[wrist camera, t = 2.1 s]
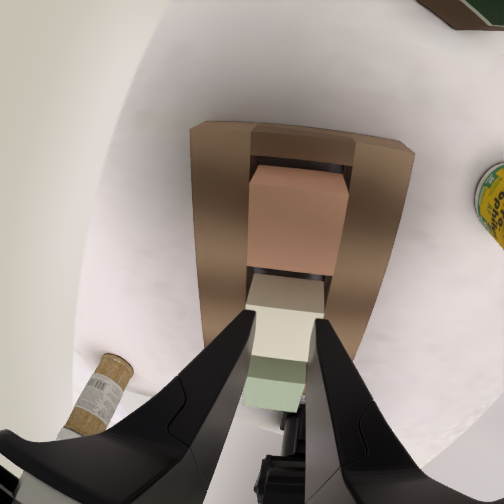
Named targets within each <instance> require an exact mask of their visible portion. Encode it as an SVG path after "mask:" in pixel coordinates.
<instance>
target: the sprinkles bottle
mask: <svg viewBox="0 0 504 504" xmlns="http://www.w3.org/2000/svg"><path fill="white" fill-rule="evenodd" d="M132 376H133V371H132V368H131V367H130V366H129V364H127V363H126V362H125V361H124V360H122V359H121V358H119V357H117V356H115V355H109V354H106V355H104V356H103V357H102V358H101V362H100V364H99V365H98V367H97V368H96V370H95V372H94V374H92V376H91V378H90V379H89V381H88V383H87V384H86V386H85V388H84V390H83V391H82V393H81V395H80V397H79V399H78V400H77V402H76V404H75V406H74V409H73V411H72V413H71V415H70V417H69V419H68V421H67V423H66V425H65V426H64V427H63V428H62V429H61V430H60V432H59V434H58V436H57V439H56V441H57V440H64V439H70V438H77V437H82V436H88V435H93V434H97V433H100V432H103V431H105V429H106V428H107V426H108V424H109V422H110V420H111V418H112V416H113V414H114V412H115V410H116V408H117V406H118V404H119V401H120V399H121V397H122V395H123V392H124V390H125V388H126V386H127V384H128V382H129V380H130V378H131V377H132Z"/></svg>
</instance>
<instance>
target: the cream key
mask: <svg viewBox="0 0 504 504" xmlns="http://www.w3.org/2000/svg"><path fill="white" fill-rule="evenodd" d="M246 309H248V310H254V311H256V330H255V337H254V343H253V348H252V354H251V355H256V356H263V357H270V358H278V359H286V360H295V361H304V362H308V355H309V345H310V337H311V333H312V329H313V324H314V320H315V319H316V318H322V319H323V317H324V281H317V280H308V279H299V278H291V277H282V276H274V275H266V274H258V273H254V276H253V279H252V283H251V287H250V290H249V294H248V298H247V301H246Z"/></svg>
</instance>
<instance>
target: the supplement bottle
mask: <svg viewBox="0 0 504 504" xmlns="http://www.w3.org/2000/svg"><path fill="white" fill-rule="evenodd" d="M475 208H476V212H477V215H478V217H479V220H480V222H481V223H482V225H483V226H484V227H485V228H486V230H487V231H488V232H489V233H490V234H491V235H492V236H493V237H494V239H495V240H496V241H497V242H498V243H499V245H500V246H501V247H502V248H503V249H504V163H500V164H498V165H496V166H494V167H492V168H491V169H490V170H489V171H488V172H487V173H486V174H485V175H484V176H483V178H482V179H481V181H480V183H479V185H478V188H477V191H476V197H475Z"/></svg>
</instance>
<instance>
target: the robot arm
mask: <svg viewBox="0 0 504 504" xmlns="http://www.w3.org/2000/svg"><path fill="white" fill-rule="evenodd" d="M255 330H256V311H254V310H248V309H243V310H242V311H241V312H240V313H239V314H238V315H237V316H236V317H235V318H234V319H233V320H232V321H231V322H230V323H229V324H228V325H227V326H226V327H225V328H224V329H223V330H222V331H221V332H220V333H219V334H218V335H217V336H216V337H215V338H214V339H213V340H212V341H211V342H210V343H209V344H208V345H207V346H206V347H205V348H204V349H203V350H202V351H201V352H200V353H199V354H198V355H197V356H196V357H195V358H194V359H193V360H192V361H191V362H190V363H189V364H188V365H187V366H186V367H185V368H184V369H183V370H182V371H181V372H180V373H179V374H178V376H176V377H175V378H174V379H173V380H172V381H171V382H170V383H169V384H167V385H166V386H165V387H164V388H163V389H162V390H161V391H160V392H159V393H157V394H156V395H155V396H154V397H152V398H151V399H150V400H149V401H147V402H146V403H145V404H143V405H142V406H141V407H139V408H138V409H136V410H135V411H134V412H132V413H131V414H129V415H128V416H127V417H125V418H124V419H123V420H121V421H120V422H118V423H117V424H115V425H114V426H112V427H111V428H109V429H107V430H105V431H103V432H100V433H97V434H93V435H88V436H82V437H77V438H70V439H64V440H57V441H50V442H31V441H27V440H24V439H22V438H21V437H19V436H18V435H16V434H15V433H13V432H12V431H10V430H7V429H5V430H1V431H0V453H1V454H2V455H4V456H5V457H6V458H7V459H9V460H10V461H11V462H13V463H14V464H15V465H17V466H18V467H20V468H21V469H23V470H24V471H23V474H22V475H21V477H20V479H19V478H17V477H16V476H15V475H13V474H12V473H10V472H9V471H8V470H6V469H5V468H4V467H3V466H1V465H0V504H203V501H204V498H205V496H206V493H207V490H208V488H209V485H210V482H211V479H212V477H213V474H214V471H215V469H216V466H217V463H218V460H219V457H220V455H221V452H222V449H223V446H224V443H225V440H226V438H227V435H228V432H229V429H230V426H231V423H232V420H233V418H234V415H235V412H236V409H237V406H238V403H239V400H240V397H241V394H242V391H243V388H244V385H245V382H246V379H247V375H248V370H249V365H250V359H251V354H252V348H253V343H254V337H255ZM280 429H281V430H284V436H283V443H282V451H281V456H272V455H266V459H263V460H262V465H261V470H260V473H259V476H258V479H257V481H256V483H255V486H254V492H255V493H256V494H257V498H258V504H504V498H502V499H499V500H497V501H493V502H482V501H478V500H475V499H473V498H471V497H468V496H466V495H464V494H462V493H460V492H458V491H456V490H453V489H451V488H449V487H447V486H445V485H443V484H441V483H439V482H437V481H435V480H434V479H432V478H430V477H428V476H427V475H426V474H425V473H424V472H423V471H422V470H421V469H420V468H419V467H418V466H417V464H416V463H415V462H414V460H413V459H412V458H411V456H410V455H409V453H408V452H407V451H406V449H405V448H404V446H403V445H402V444H401V442H400V441H399V439H398V438H397V437H396V435H395V434H394V432H393V431H392V429H391V428H390V426H389V425H388V423H387V422H386V420H385V418H384V417H383V415H382V413H381V412H380V410H379V408H378V406H377V404H376V403H375V401H373V397H372V395H371V394H370V392H369V390H368V388H367V386H366V385H365V383H364V381H363V379H362V377H361V376H360V374H359V372H358V370H357V369H356V367H355V365H354V363H353V361H352V360H351V358H350V356H349V354H348V353H347V351H346V349H345V347H344V346H343V344H342V342H341V340H340V339H339V337H338V335H337V334H336V332H335V330H334V328H333V327H332V325H331V323H330V321H329V320H328V319H322V318H316V319H315V320H314V324H313V329H312V333H311V337H310V345H309V355H308V365H307V374H306V406H300V405H299V406H298V409H297V412H287V411H284V414H283V417H282V421H281V425H280Z"/></svg>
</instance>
